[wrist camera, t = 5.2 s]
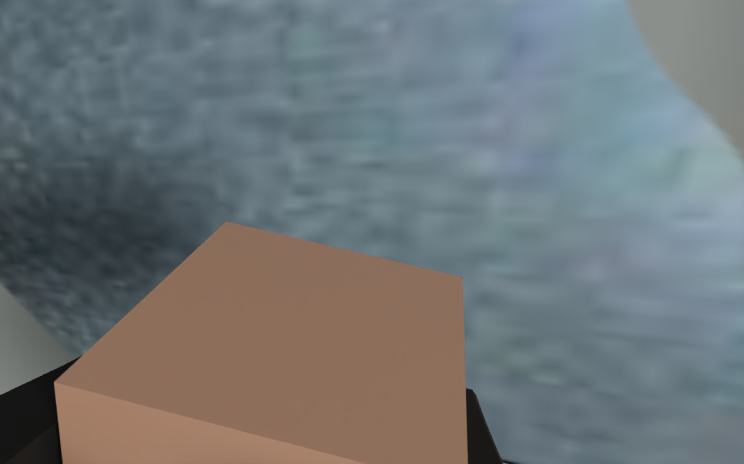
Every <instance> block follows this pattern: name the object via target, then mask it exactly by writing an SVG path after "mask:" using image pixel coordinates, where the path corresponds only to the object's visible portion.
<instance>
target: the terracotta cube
mask: <svg viewBox="0 0 744 464" xmlns="http://www.w3.org/2000/svg"><path fill="white" fill-rule="evenodd" d="M54 387H55V396H56V405H57V414H58V423H59V433H60V442H61V451H62V460H63V464H468V453H467V418H466V382H465V347H464V311H463V277H459V276H455V275H451V274H446V273H442V272H438V271H434V270H429V269H425V268H421V267H417V266H412V265H408V264H404V263H400V262H395V261H391V260H387V259H383V258H378V257H374V256H370V255H366V254H362V253H357V252H353V251H349V250H345V249H340V248H336V247H332V246H328V245H323V244H319V243H315V242H311V241H306V240H302V239H298V238H294V237H290V236H285V235H281V234H277V233H273V232H268V231H264V230H260V229H256V228H251V227H247V226H243V225H239V224H234V223H230V222H225V223H224V224H223V225H222V226H221V227H220V228H219V229H218V230H217V231H215V232H214V233H213V234H212V235H211V236H210V237H209V238H208V239H207V240H206V241H205V242H204V243H203V244H202V245H200V246H199V247H198V248H197V249H196V250H195V251H194V252H193V253H192V254H191V255H190V256H189V257H188V258H187V259H185V260H184V261H183V262H182V263H181V264H180V265H179V266H178V267H177V268H176V269H175V270H174V271H173V272H172V273H170V274H169V275H168V276H167V277H166V278H165V279H164V280H163V281H162V282H161V283H160V284H159V285H158V286H157V287H155V288H154V289H153V290H152V291H151V292H150V293H149V294H148V295H147V296H146V297H145V298H144V299H143V300H142V301H140V302H139V303H138V304H137V305H136V306H135V307H134V308H133V309H132V310H131V311H130V312H129V313H128V314H127V315H125V316H124V317H123V318H122V319H121V320H120V321H119V322H118V323H117V324H116V325H115V326H114V327H113V328H112V329H110V330H109V331H108V332H107V333H106V334H105V335H104V336H103V337H102V338H101V339H100V340H99V341H98V342H97V343H95V344H94V345H93V346H92V347H91V348H90V349H89V350H88V351H87V352H86V353H85V354H84V355H83V356H82V357H80V358H79V359H78V360H77V361H76V362H75V363H74V364H73V365H72V366H71V367H70V368H69V369H68V370H67V371H65V372H64V373H63V374H62V375H61V376H60V377H59V378H58V379H57V380H56V381H55V382H54Z"/></svg>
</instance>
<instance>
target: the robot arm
mask: <svg viewBox="0 0 744 464" xmlns="http://www.w3.org/2000/svg"><path fill="white" fill-rule="evenodd" d="M82 356H83V355H82ZM82 356H80V357H82ZM80 357H78V358H76V359H75V360H73V361H71V362H69V363H67V364H65V365H63V366H61V367H59V368H57V369H55V370H53V371H50V372H48V373H46V374H44V375H42V376H40V377H38V378H36V379H33V380H32V381H30V382H27V383H25V384H23V385H21V386H19V387H16V388H14V389H12V390H10V391H8V392H6V393H4V394H2V395H0V464H63V460H62V451H61V442H60V433H59V423H58V414H57V405H56V396H55V387H54V382H55V381H56V380H57V379H58V378H59V377H60V376H61V375H62V374H63V373H64V372H65V371H67V370H68V369H69V368H70V367H71V366H72V365H73V364H74V363H75V362H76V361H77V360H78V359H79V358H80ZM466 418H467V453H468V464H507V463H503V462H502V460H501V457H500V455H499V453H498V451H497V448H496V446H495V443H494V441H493V439H492V436H491V434H490V431H489V429H488V426H487V424H486V421H485V418H484V416H483V413H482V410H481V408H480V405H479V402H478V399H477V397H476V395H475V393H474V392H473V390H471V389H467V388H466Z"/></svg>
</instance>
